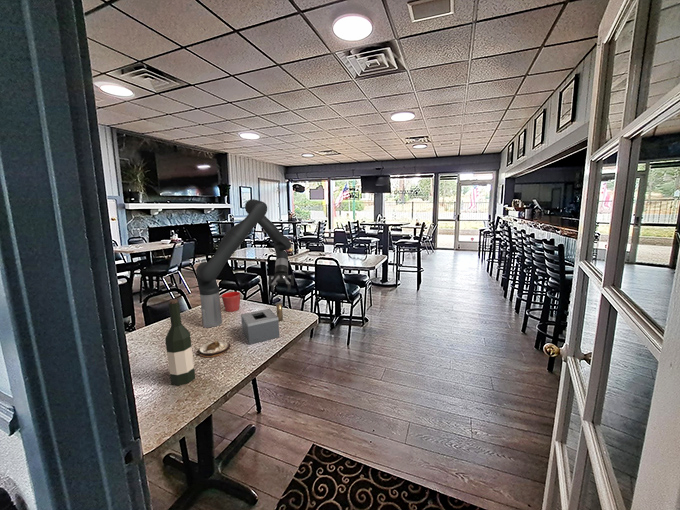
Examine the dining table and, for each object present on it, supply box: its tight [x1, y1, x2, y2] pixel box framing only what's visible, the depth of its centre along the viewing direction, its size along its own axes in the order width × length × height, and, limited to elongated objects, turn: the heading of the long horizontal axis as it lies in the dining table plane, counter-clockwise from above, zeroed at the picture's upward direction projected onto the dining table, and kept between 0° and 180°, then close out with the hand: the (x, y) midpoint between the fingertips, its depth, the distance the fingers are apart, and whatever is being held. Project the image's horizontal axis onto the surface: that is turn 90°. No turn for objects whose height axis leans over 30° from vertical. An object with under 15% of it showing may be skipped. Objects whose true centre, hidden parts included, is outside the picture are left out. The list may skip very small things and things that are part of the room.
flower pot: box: [221, 291, 241, 313], centre depth 179 cm, size 11×11×10 cm
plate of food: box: [198, 339, 232, 359], centre depth 130 cm, size 15×15×4 cm
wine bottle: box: [164, 298, 196, 387], centre depth 107 cm, size 8×8×30 cm
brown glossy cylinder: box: [275, 302, 284, 323], centre depth 161 cm, size 3×3×9 cm
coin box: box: [240, 308, 280, 346], centre depth 143 cm, size 14×14×10 cm
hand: (280, 291), depth 169 cm, fingers open, 8 cm apart
